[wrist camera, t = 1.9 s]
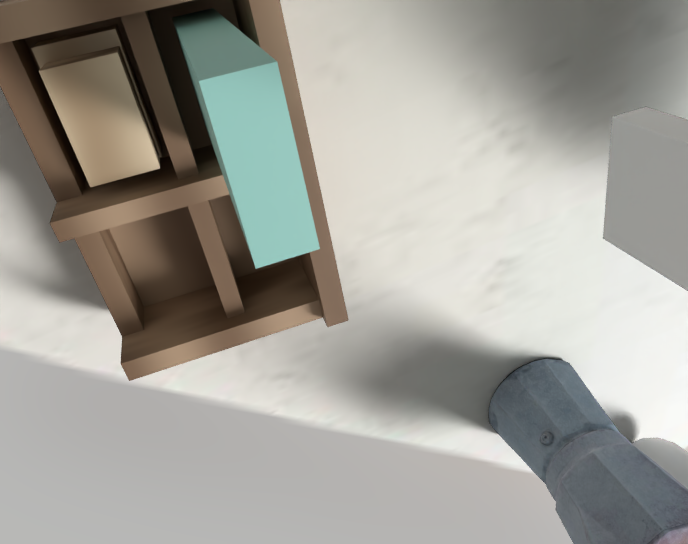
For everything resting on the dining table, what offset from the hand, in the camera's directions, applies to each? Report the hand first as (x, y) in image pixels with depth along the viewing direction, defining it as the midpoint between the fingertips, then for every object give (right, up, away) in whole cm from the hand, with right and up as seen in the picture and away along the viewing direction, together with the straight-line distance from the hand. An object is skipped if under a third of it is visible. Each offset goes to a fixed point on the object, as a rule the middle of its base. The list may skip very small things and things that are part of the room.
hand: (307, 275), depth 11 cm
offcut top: (-10, +7, +16) cm, 20 cm away
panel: (-6, +10, +18) cm, 22 cm away
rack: (-9, +7, +21) cm, 24 cm away
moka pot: (+18, -11, +40) cm, 45 cm away
